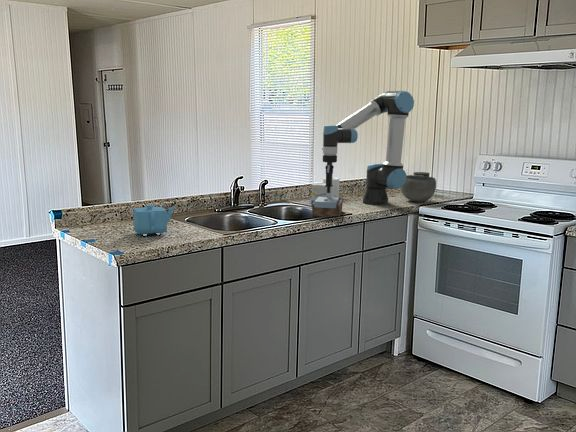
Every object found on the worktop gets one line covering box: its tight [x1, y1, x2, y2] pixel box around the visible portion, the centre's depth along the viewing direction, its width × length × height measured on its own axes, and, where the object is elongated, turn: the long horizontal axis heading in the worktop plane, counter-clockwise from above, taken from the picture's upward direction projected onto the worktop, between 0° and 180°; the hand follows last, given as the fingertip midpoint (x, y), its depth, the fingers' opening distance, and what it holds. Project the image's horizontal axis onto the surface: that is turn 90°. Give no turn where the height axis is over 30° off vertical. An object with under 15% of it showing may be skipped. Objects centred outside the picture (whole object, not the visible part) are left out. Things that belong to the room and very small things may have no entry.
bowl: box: [400, 174, 437, 203], centre depth 341 cm, size 20×20×15 cm
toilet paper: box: [322, 176, 341, 199], centre depth 351 cm, size 10×10×12 cm
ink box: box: [310, 182, 326, 206], centre depth 327 cm, size 9×8×12 cm
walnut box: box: [311, 199, 343, 218], centre depth 298 cm, size 14×18×6 cm
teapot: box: [132, 204, 178, 235], centre depth 244 cm, size 18×16×13 cm
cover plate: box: [314, 197, 340, 208], centre depth 294 cm, size 11×16×4 cm
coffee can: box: [412, 171, 430, 177], centre depth 370 cm, size 10×10×14 cm
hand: (328, 198), depth 302 cm, fingers closed
